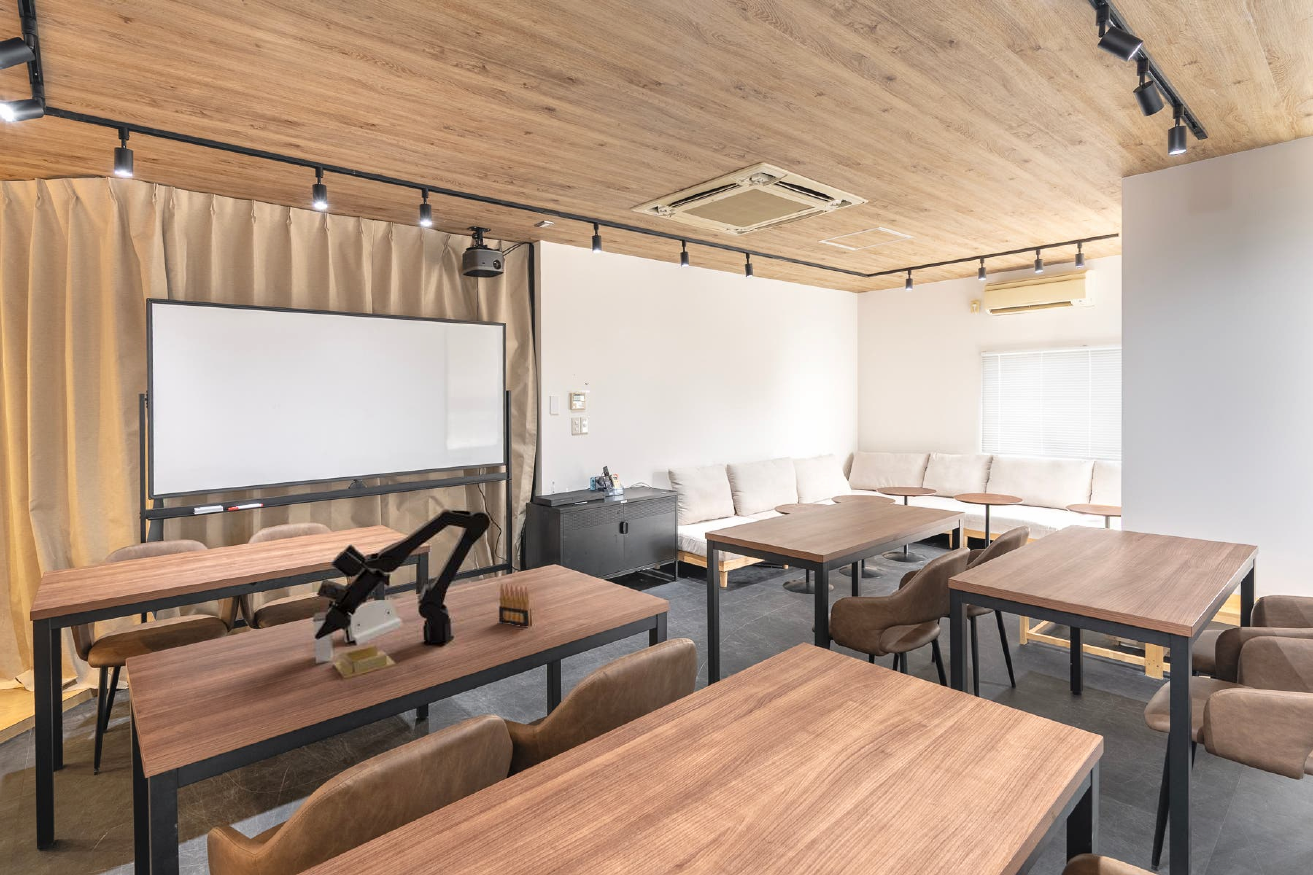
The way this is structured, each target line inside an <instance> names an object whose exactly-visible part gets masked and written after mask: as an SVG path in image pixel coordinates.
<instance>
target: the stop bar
mask: <svg viewBox="0 0 1313 875" xmlns="http://www.w3.org/2000/svg"><path fill="white" fill-rule="evenodd" d="M325 613H326V611H322V612H315V613H314V615H313V619H312V622H313V630H314V631H313V633H314V634H313V635H314V649H315V650H314V651H315V664H320V663H327V662H332V659H333V656H334V647H333V646H334V644H333V643H334V642H333V633H331V634H329V635H326V636H324V637H322V638H320V639H316V638H315V635H316V634H317V632H318V631H319V629H320V628H321V626H322V625H323V623H324V622H325V621H326V617H325Z"/></svg>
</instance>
